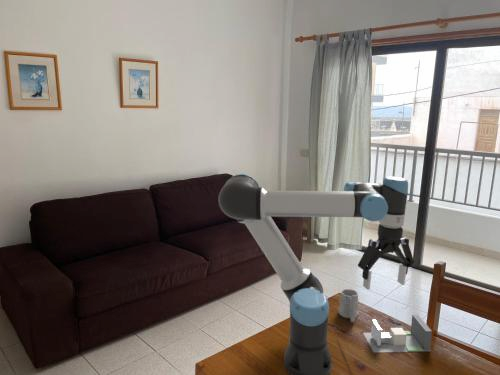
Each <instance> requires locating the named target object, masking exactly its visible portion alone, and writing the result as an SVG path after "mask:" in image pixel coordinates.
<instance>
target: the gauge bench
mask: <svg viewBox="0 0 500 375" xmlns="http://www.w3.org/2000/svg"><path fill="white" fill-rule="evenodd" d="M411 317H412V318H411V323H410V324H411V325H410V331H409V330H404V331H405V333H406V334H407V338H406V345H394V344H393V343H392V341H391V343H381V346H377V345H376V343H375V341H374V340H373V338H372V336H371V332H362V333H363V336H364V337H365V339H366V341H367V342H368V345H369V347H370V348H371V350H372V352H373V353H403V352H404V353H406V352H407V353H411V352H413V353H414V352H415V353H416V352H431V344H432V335H433V334H432V333H433V330H432V329H431V328H430V327H429V326H428V324H426V322H425V321H424V320H423V319H422V318H421V317H420V315H419V314H412V315H411ZM384 332H385V331H382V333H384ZM387 332H388V331H387ZM388 333H389V335H390V331H389V332H388Z"/></svg>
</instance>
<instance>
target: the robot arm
mask: <svg viewBox="0 0 500 375" xmlns="http://www.w3.org/2000/svg"><path fill="white" fill-rule="evenodd" d="M408 195H409V182H408V179H406V178H404V177H398V176H385V177H384V178H383V181H382V182H380V183H378V182H377V183H376V182H364V181H363V182H360V181H347V182H346V183H344V186H343V190H267V189H265V188H264V187H262V186H260V185H259V182H257V180H256V179H255V178H254V177H252V176H251V175H249V174H245V173H239V174H235V175H233V176H231V177H230V178H229V179H227V180H226V182H225V183H224V185H223V186H222V188H221V190H220V192H219V193H218V200H217V201H218V206H219V208H220V210H221V211H222V212H223V213H224V215H225V216H228V217H229V218H231V219H234V220H236V221H237V223H239V224H243V225H245V227H246V228H247V230H248V231H249V232H250V234H251V236H252V237H253V239H254V240H255V242H256V243H257V245H258V246H259V248H260V249H261V252H262V253H263V254H264V255H265V257H266V259H267V260H268V262H269V264H270V265H271V266H272V268H273V269H274V271H275V273H276V274H277V276H278V277H279V279H280V280H281V282H280V289H281V290H282V291H283V294H284V295H285V296H286V298H287V299H288V302H289V342H288V344H287V345H286V346H287V347H286V349H285V352H284V355H283V366H284V369H285V371H286V372H288V373H289V374H290V375H330V374H331V372H332V369H333V368H332V366H333V359H332V356H331V353H330V348H329V345H328V332H329V331H328V325H329V312H330V306H329V300H328V298H327V296H326V295H325V294H324V289H323V288H324V287H323V285H322V283H321V281H320V279H319V278H318V277H317V276H315V275H314V274H313V272H312V271H311V269H309V267H306V266H303V265H302V264H301V262H300V260H299V259H298V257H297V256H296V255H295V253H294V251H293V249H292V248H291V246H290V244H289V243H288V241H287V240H286V238H285V237H284V235H283V234H282V232H281V230H280V229H279V227H278V226H277V225H276V222H275V221H274V219H273V218H272V217H281V218H282V217H286V218H287V217H295V218H300V217H302V218H305V217H306V218H309V217H311V218H313V217H314V218H364V219H365V220H367V221H369V222H378V223H379V224H378V228H377V237H378V238H377V240H374V239H372V238H370V239H369V240H368V245H367V247H366V249H365V251H364V252H363V254H362V256H361V257H360V260H359V261H358V264H357V267H358V268H360V269H361V270H362V275H361V276H362V279H363V283H362V287H364V288H365V289H366V290H367V291H369V290H370V289H371V280H372V270H371V269H372V267H374V265H375V264H376V263H377V262H378V260H379V259H381V257H382V256H384V255H385V254H391V253H392V254H393V253H395V255H396V257H397V258H398V259H399V261H400V262H401V263H399V265H398V273H397V283H399V284H401V285H402V286H405V283H406V276H407V275H408V270H409V268H411V267H412V265H413V264H414V263H415V259H414V257H413V253H412V250H411V247H410V238H407V237H406V236H403V231H404V227H403V226H404V223H405V216H406V215H405V214H406V209H407V208H406V207H407V201H408ZM400 246H401V248H402V250H401V248H400ZM402 251H403V252H402Z"/></svg>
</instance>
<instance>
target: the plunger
mask: <svg viewBox="0 0 500 375" xmlns="http://www.w3.org/2000/svg"><path fill="white" fill-rule="evenodd" d="M382 332H384V333H382ZM370 333H371V336H372V338H373V340H374V341H375V343H376V345H377V346H381V343H391V336H390V335H389V333H388V331H386V332H385V331H383V329H382V328H381V326H380V325H379V323H378V321H377V320H376V319H372V320H371V330H370Z"/></svg>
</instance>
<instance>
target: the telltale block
mask: <svg viewBox="0 0 500 375" xmlns="http://www.w3.org/2000/svg"><path fill="white" fill-rule="evenodd" d="M405 331H406V330H404V329H403V327H390V329H389V332H390V336H391V341H392V343H393V344H394V345H406V338H407V334H406V333H405Z"/></svg>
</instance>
